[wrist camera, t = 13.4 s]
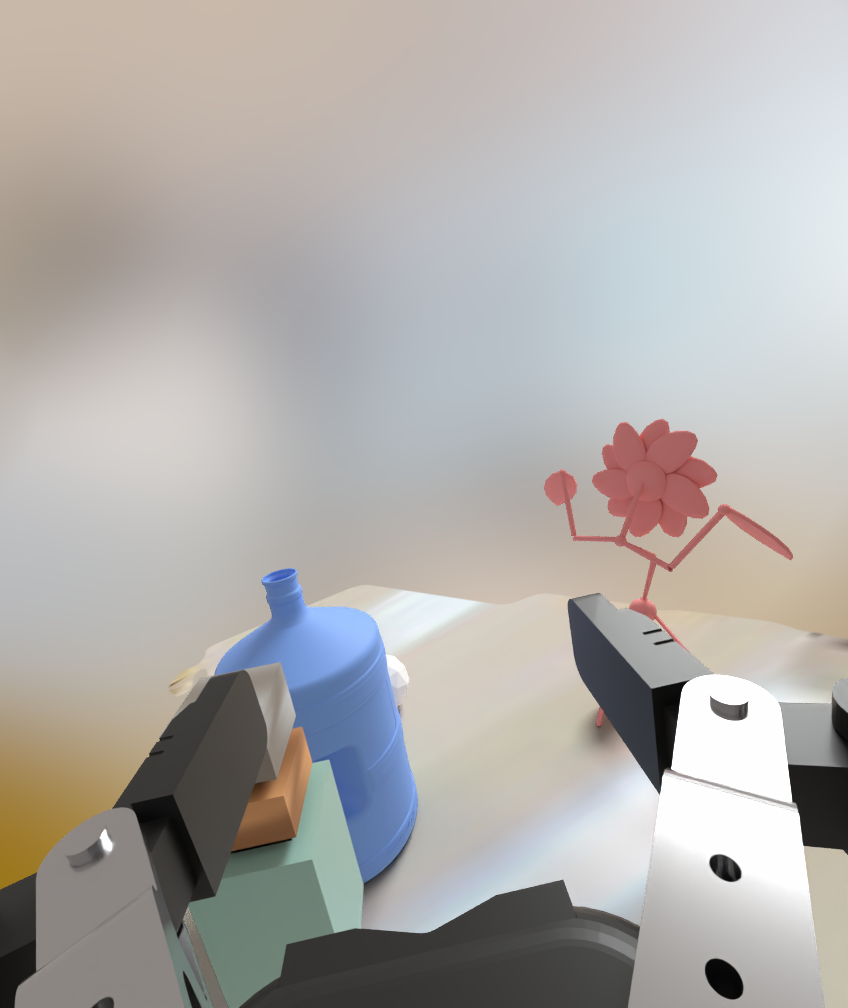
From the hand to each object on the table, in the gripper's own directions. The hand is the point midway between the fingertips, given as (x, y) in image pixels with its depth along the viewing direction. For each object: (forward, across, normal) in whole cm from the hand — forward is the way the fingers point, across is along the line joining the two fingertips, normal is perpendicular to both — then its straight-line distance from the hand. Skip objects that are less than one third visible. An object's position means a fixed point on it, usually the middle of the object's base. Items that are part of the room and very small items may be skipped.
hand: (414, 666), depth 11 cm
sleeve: (+6, +8, +18) cm, 21 cm away
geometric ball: (+46, +9, +36) cm, 59 cm away
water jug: (+29, +13, +35) cm, 48 cm away
